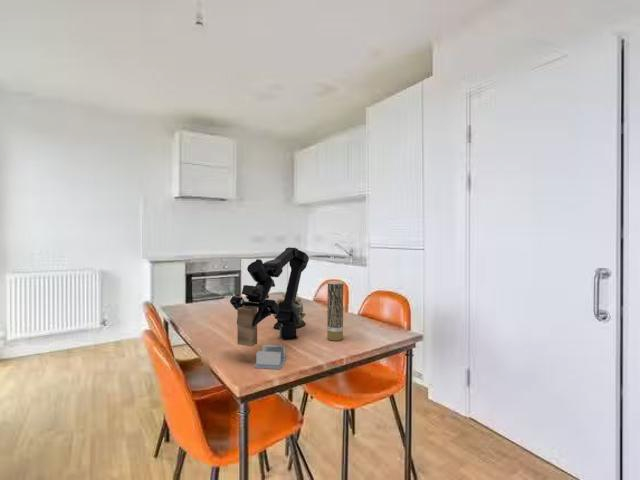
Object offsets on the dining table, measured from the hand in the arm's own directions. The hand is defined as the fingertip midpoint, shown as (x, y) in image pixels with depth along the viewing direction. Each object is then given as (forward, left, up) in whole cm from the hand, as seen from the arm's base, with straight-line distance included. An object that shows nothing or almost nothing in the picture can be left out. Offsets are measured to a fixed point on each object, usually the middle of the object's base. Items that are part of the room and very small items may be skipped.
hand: (245, 325), depth 124 cm
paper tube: (-42, -13, -14) cm, 46 cm away
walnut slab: (-1, -1, -7) cm, 7 cm away
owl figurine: (-30, -40, -14) cm, 51 cm away
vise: (-9, +2, -13) cm, 17 cm away
